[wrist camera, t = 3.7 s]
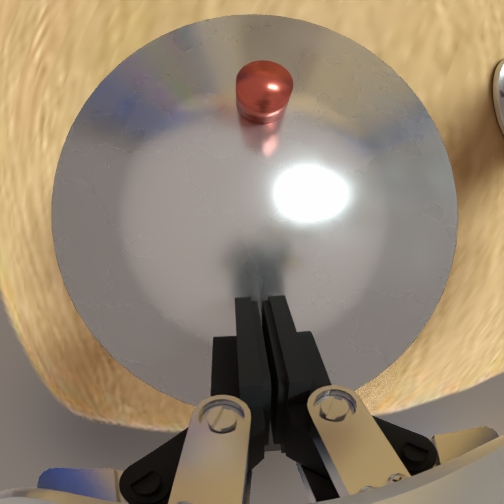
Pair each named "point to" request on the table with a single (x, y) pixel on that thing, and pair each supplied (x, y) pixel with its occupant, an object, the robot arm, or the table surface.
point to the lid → (253, 201)
